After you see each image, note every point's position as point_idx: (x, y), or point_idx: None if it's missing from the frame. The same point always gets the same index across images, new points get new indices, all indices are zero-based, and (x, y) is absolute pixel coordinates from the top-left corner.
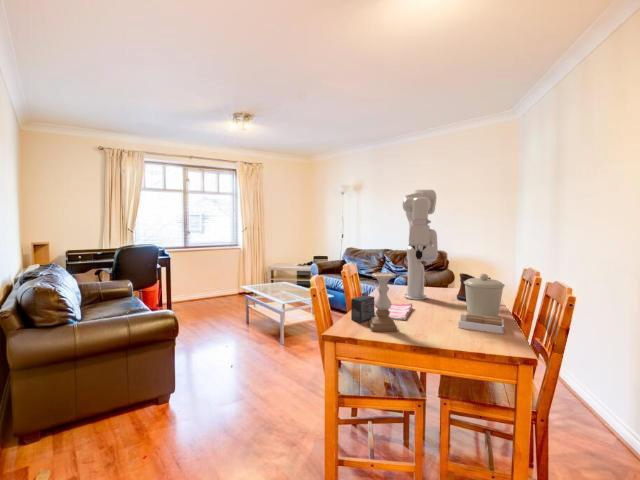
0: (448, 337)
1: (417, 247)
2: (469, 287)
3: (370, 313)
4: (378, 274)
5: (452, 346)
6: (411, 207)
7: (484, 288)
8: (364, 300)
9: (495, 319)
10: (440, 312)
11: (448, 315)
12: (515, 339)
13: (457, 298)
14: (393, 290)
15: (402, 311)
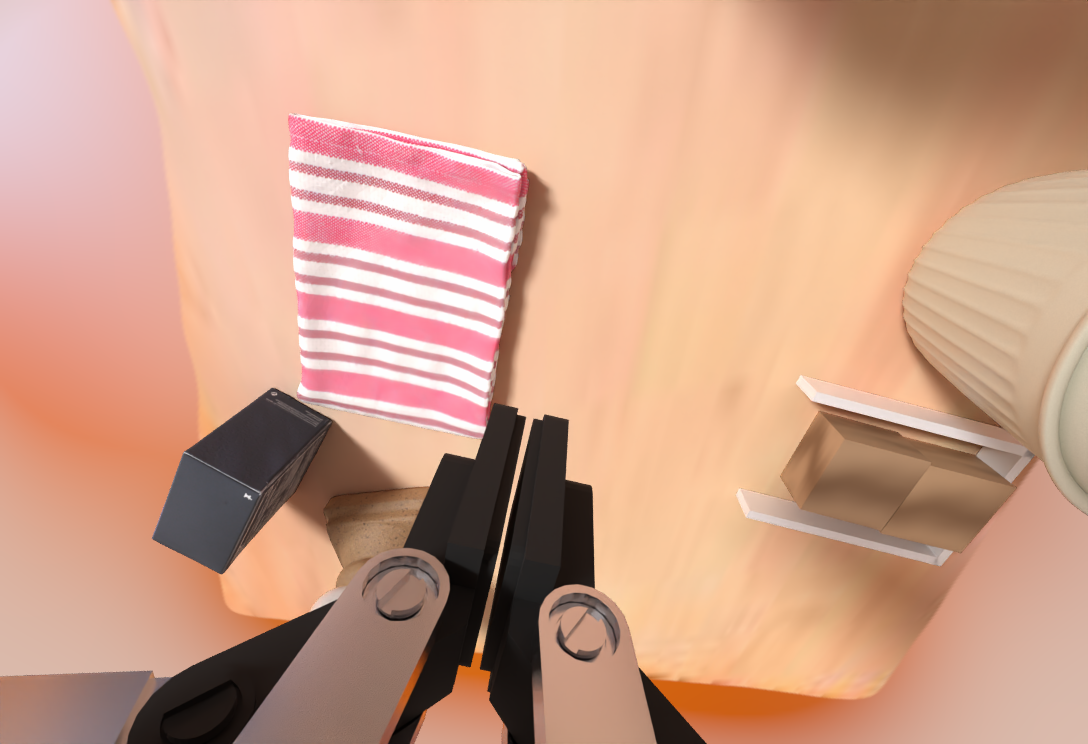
0: (655, 594)
1: (382, 696)
2: (1036, 433)
3: (303, 463)
4: None
5: (648, 656)
6: None
7: None
8: (233, 554)
9: (953, 521)
10: (721, 232)
11: (755, 295)
12: (929, 586)
13: None
14: None
15: (464, 303)
